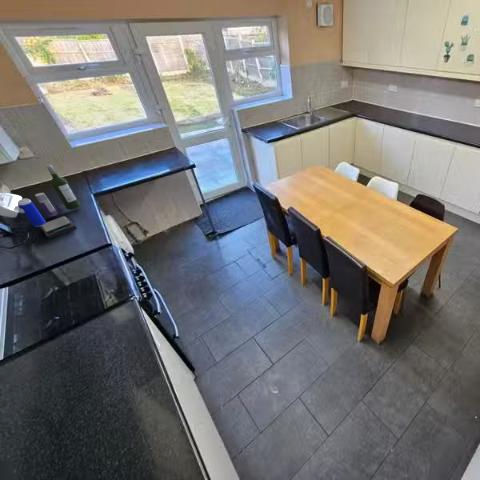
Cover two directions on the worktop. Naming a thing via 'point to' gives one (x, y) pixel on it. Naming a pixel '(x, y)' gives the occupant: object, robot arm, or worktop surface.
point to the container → (46, 204)
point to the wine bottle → (63, 190)
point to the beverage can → (31, 212)
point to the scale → (60, 230)
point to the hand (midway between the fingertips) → (31, 210)
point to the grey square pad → (55, 224)
